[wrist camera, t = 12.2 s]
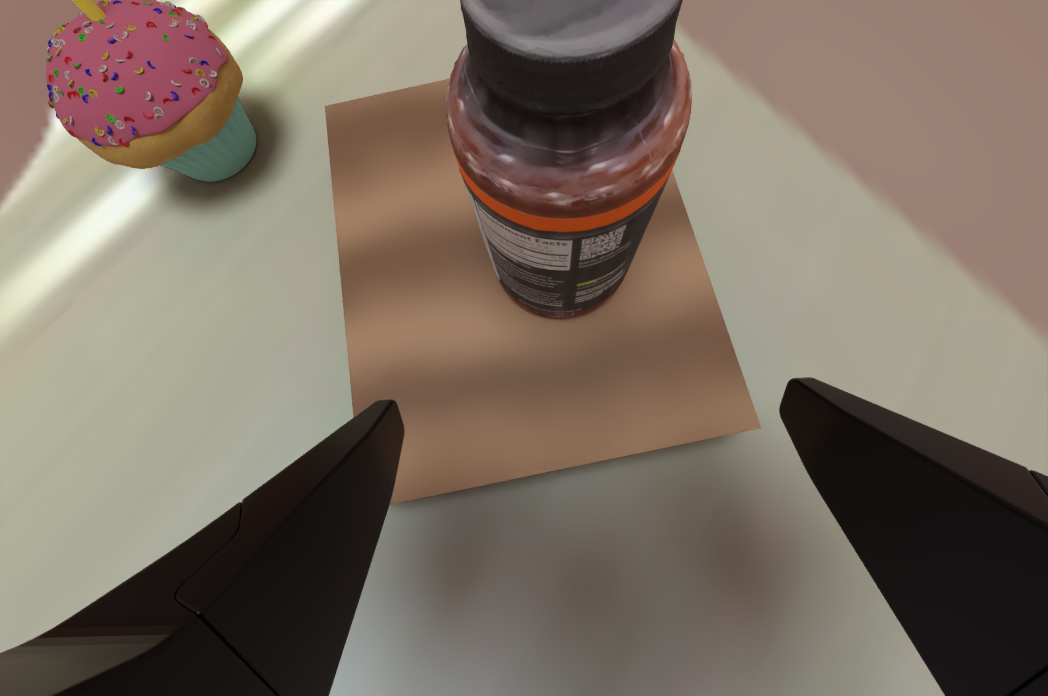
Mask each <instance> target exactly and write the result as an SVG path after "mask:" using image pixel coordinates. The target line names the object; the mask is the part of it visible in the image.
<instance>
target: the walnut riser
mask: <svg viewBox="0 0 1048 696" xmlns="http://www.w3.org/2000/svg"><path fill="white" fill-rule="evenodd" d="M449 80H450V79H447V80H442V81H437V82H433V83H428V84H424V85H419V86H415V87H410V88H405V89H401V90H396V91H392V92H387V93H383V94H378V95H374V96H369V97H364V98H360V99H355V100H351V101H346V102H342V103H337V104H332V105H328V106H325V113H326V123H327V134H328V145H329V156H330V167H331V178H332V188H333V199H334V210H335V221H336V232H337V242H338V253H339V264H340V275H341V286H342V296H343V307H344V318H345V329H346V340H347V351H348V361H349V372H350V383H351V394H352V405H353V415H354V417H355V416H356V415H358V414H359V413H361V412H362V411H363V410H365V409H366V408H367V407H369V406H370V405H371V404H373V403H374V402H376V401H377V400H389V399H393V400H395V401H396V402H397V404H398V407H399V411H400V414H401V417H402V421H403V424H404V429H405V433H404V440H403V445H402V450H401V455H400V460H399V465H398V470H397V476H396V481H395V486H394V490H393V494H392V498H391V501H390V505H391V504H396V503H401V502H406V501H411V500H415V499H420V498H425V497H430V496H435V495H440V494H444V493H449V492H454V491H459V490H464V489H468V488H473V487H478V486H483V485H488V484H493V483H497V482H502V481H507V480H512V479H517V478H522V477H526V476H531V475H536V474H541V473H546V472H551V471H555V470H560V469H565V468H570V467H575V466H580V465H584V464H589V463H594V462H599V461H604V460H608V459H613V458H618V457H623V456H628V455H633V454H637V453H642V452H647V451H652V450H657V449H662V448H666V447H671V446H676V445H681V444H686V443H691V442H695V441H700V440H705V439H710V438H715V437H720V436H724V435H729V434H734V433H739V432H744V431H749V430H753V429H758V428H761V427H760V424H759V421H758V418H757V415H756V412H755V409H754V406H753V404H752V401H751V398H750V395H749V392H748V389H747V386H746V383H745V380H744V377H743V375H742V372H741V369H740V366H739V363H738V360H737V357H736V354H735V351H734V348H733V346H732V343H731V340H730V337H729V334H728V331H727V328H726V325H725V322H724V319H723V317H722V314H721V311H720V308H719V305H718V302H717V299H716V296H715V293H714V290H713V288H712V285H711V282H710V279H709V276H708V273H707V270H706V267H705V264H704V261H703V258H702V256H701V253H700V250H699V247H698V244H697V241H696V238H695V235H694V232H693V229H692V227H691V224H690V221H689V218H688V215H687V212H686V209H685V206H684V203H683V200H682V198H681V195H680V192H679V189H678V186H677V183H676V180H675V177H674V174H673V171H671V173H670V176H669V178H668V181H667V183H666V186H665V187H664V190H663V192H662V194H661V197H660V199H659V201H658V203H657V206H656V208H655V210H654V213H653V215H652V217H651V219H650V222H649V224H648V226H647V228H646V231H645V233H644V235H643V237H642V240H641V242H640V244H639V247H638V249H637V251H636V254H635V256H634V258H633V260H632V263H631V265H630V267H629V270H628V272H627V274H626V276H625V278H624V279H623V281H622V283H621V284H620V286H619V287H618V289H617V290H616V292H615V293H614V294H613V295H612V296H611V297H610V298H609V299H608V300H607V301H606V302H605V303H603V304H602V305H600V306H598V307H597V308H595V309H594V310H592V311H590V312H587V313H584V314H582V315H577V316H573V317H565V318H552V317H546V316H542V315H539V314H536V313H533V312H531V311H529V310H527V309H525V308H523V307H522V306H520V305H519V304H517V303H516V302H515V301H514V300H513V299H511V298H510V297H509V295H508V294H507V293H506V292H505V290H504V289H503V287H502V285H501V283H500V282H499V280H498V277H497V275H496V273H495V271H494V268H493V266H492V263H491V260H490V257H489V254H488V251H487V249H486V245H485V242H484V240H483V237H482V233H481V231H480V228H479V225H478V222H477V219H476V216H475V213H474V211H473V208H472V205H471V202H470V199H469V196H468V193H467V190H466V187H465V185H464V182H463V179H462V176H461V173H460V170H459V166H458V163H457V160H456V157H455V154H454V151H453V148H452V144H451V140H450V136H449V132H448V128H447V118H446V95H447V88H448V85H449Z"/></svg>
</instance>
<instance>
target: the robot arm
mask: <svg viewBox="0 0 1048 696" xmlns="http://www.w3.org/2000/svg"><path fill="white" fill-rule="evenodd" d="M779 411H780V416H781V419H782V421H783V423H784V425H785V427H786V429H787V431H788V434H789V436H790V438H791V440H792V442H793V444H794V446H795V448H796V450H797V452H798V454H799V456H800V458H801V461H802V463H803V465H804V467H805V469H806V471H807V473H808V474H809V476H810V478H811V480H812V482H813V483H814V485H815V487H816V488H817V490H818V492H819V493H820V495H821V496H822V498H823V500H824V501H825V503H826V504H827V506H828V508H829V509H830V511H831V512H832V514H833V516H834V517H835V519H836V521H837V522H838V524H839V525H840V527H841V529H842V530H843V532H844V533H845V535H846V537H847V538H848V540H849V542H850V543H851V545H852V546H853V548H854V550H855V551H856V553H857V554H858V556H859V558H860V559H861V561H862V562H863V564H864V566H865V567H866V569H867V571H868V572H869V574H870V575H871V577H872V579H873V580H874V582H875V583H876V585H877V587H878V588H879V590H880V592H881V593H882V595H883V596H884V598H885V600H886V601H887V603H888V604H889V606H890V608H891V609H892V611H893V612H894V614H895V616H896V617H897V619H898V621H899V622H900V624H901V625H902V627H903V629H904V630H905V632H906V633H907V635H908V637H909V638H910V640H911V642H912V643H913V645H914V646H915V648H916V650H917V651H918V653H919V654H920V656H921V658H922V659H923V661H924V662H925V664H926V666H927V667H928V669H929V671H930V672H931V674H932V675H933V677H934V679H935V680H936V682H937V683H938V685H939V687H940V688H941V690H942V692H943V693H944V695H945V696H1048V476H1045V475H1043V474H1041V473H1038V472H1036V471H1033V470H1030V471H1029V470H1028V469H1027V468H1026V467H1024V466H1021V465H1019V464H1017V463H1014V462H1012V461H1009V460H1007V459H1005V458H1002V457H1000V456H998V455H995V454H993V453H990V452H988V451H986V450H983V449H981V448H979V447H976V446H974V445H971V444H969V443H967V442H964V441H962V440H959V439H957V438H955V437H952V436H950V435H948V434H945V433H943V432H940V431H938V430H936V429H933V428H931V427H929V426H926V425H924V424H921V423H919V422H917V421H914V420H912V419H909V418H907V417H905V416H902V415H900V414H898V413H895V412H893V411H890V410H888V409H886V408H883V407H881V406H879V405H876V404H874V403H871V402H869V401H867V400H864V399H862V398H859V397H857V396H855V395H852V394H850V393H848V392H845V391H843V390H840V389H838V388H836V387H833V386H831V385H829V384H826V383H824V382H821V381H819V380H817V379H814V378H810V377H806V378H793V379H791V380H790V381H789V382H788V383H787V386H786V389H785V392H784V395H783V398H782V401H781V404H780V410H779ZM404 433H405V429H404V424H403V421H402V417H401V414H400V411H399V407H398V404H397V402H396V401H395V400H393V399H389V400H377V401H376V402H374V403H373V404H371V405H370V406H369V407H367V408H366V409H365V410H363V411H362V412H361V413H359V414H358V415H356V416H355V417H354V418H352V419H351V420H350V421H348V422H347V423H346V424H344V425H343V426H342V427H340V428H339V429H338V430H336V431H335V432H334V433H332V434H331V435H329V436H328V437H327V438H325V439H324V440H323V441H321V442H320V443H319V444H317V445H316V446H315V447H313V448H312V449H311V450H309V451H308V452H306V453H305V454H304V455H302V456H301V457H300V458H298V459H297V460H296V461H294V462H293V463H292V464H290V465H289V466H288V467H286V468H285V469H283V470H282V471H281V472H279V473H278V474H277V475H275V476H274V477H273V478H271V479H270V480H269V481H267V482H266V483H265V484H263V485H262V486H260V487H259V488H258V489H256V490H255V491H254V492H252V493H251V494H250V495H248V496H247V497H246V498H244V499H243V501H242V503H241V502H239V503H237V504H236V505H235V506H233V507H232V508H231V509H229V510H228V511H227V512H225V513H224V514H223V515H221V516H220V517H218V518H217V519H216V520H214V521H213V522H211V523H210V524H209V525H207V526H206V527H204V528H203V529H202V530H200V531H199V532H198V533H196V534H195V535H193V536H192V537H191V538H189V539H188V540H186V541H185V542H183V543H182V544H180V545H179V546H177V547H176V548H174V549H173V550H171V551H170V552H168V553H167V554H165V555H164V556H162V557H161V558H159V559H158V560H156V561H155V562H153V563H152V564H150V565H149V566H147V567H146V568H144V569H143V570H141V571H140V572H138V573H137V574H135V575H134V576H132V577H131V578H129V579H128V580H126V581H125V582H123V583H122V584H120V585H119V586H117V587H116V588H114V589H112V590H111V591H109V592H108V593H106V594H105V595H103V596H102V597H100V598H99V599H97V600H96V601H94V602H93V603H91V604H90V605H88V606H87V607H85V608H84V609H82V610H81V611H79V612H78V613H76V614H75V615H73V616H72V617H70V618H68V619H67V620H65V621H64V622H62V623H60V624H59V625H57V626H56V627H54V628H52V629H50V630H49V631H47V632H45V633H43V634H41V635H39V636H38V637H36V638H34V639H32V640H29V641H27V642H25V643H23V644H21V645H19V646H17V647H14V648H12V649H9V650H7V651H4V652H2V653H0V696H329V693H330V690H331V687H332V684H333V681H334V678H335V674H336V671H337V668H338V665H339V662H340V659H341V656H342V652H343V649H344V646H345V643H346V640H347V637H348V634H349V630H350V627H351V624H352V621H353V618H354V615H355V612H356V608H357V605H358V602H359V599H360V596H361V593H362V590H363V586H364V583H365V580H366V577H367V574H368V571H369V568H370V564H371V561H372V558H373V555H374V552H375V549H376V545H377V542H378V539H379V536H380V533H381V530H382V527H383V523H384V520H385V517H386V514H387V511H388V508H389V505H390V501H391V498H392V494H393V490H394V486H395V481H396V476H397V470H398V465H399V460H400V455H401V450H402V445H403V440H404Z"/></svg>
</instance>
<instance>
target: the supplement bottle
mask: <svg viewBox="0 0 1048 696" xmlns="http://www.w3.org/2000/svg"><path fill="white" fill-rule="evenodd" d="M460 2H461V9H462V13H463V18H464V23H465V27H466V38H467V45H466V46H465V47H464V48H463V49H462V51H461V53H460V55H459V57H458V59H457V61H456V62H455V66H454V69H453V71H452V73H451V77H450V80H449V85H448V88H447V95H446V118H447V128H448V132H449V136H450V140H451V144H452V148H453V151H454V154H455V157H456V160H457V163H458V166H459V170H460V173H461V176H462V179H463V182H464V185H465V187H466V190H467V193H468V196H469V199H470V202H471V205H472V208H473V211H474V213H475V216H476V219H477V222H478V225H479V228H480V231H481V233H482V237H483V240H484V242H485V245H486V249H487V251H488V254H489V257H490V260H491V263H492V266H493V268H494V271H495V273H496V275H497V277H498V280H499V282H500V283H501V285H502V287H503V289H504V290H505V292H506V293H507V294H508V295H509V297H510V298H511V299H513V300H514V301H515V302H516V303H517V304H519V305H520V306H522V307H523V308H525V309H527V310H529V311H531V312H533V313H536V314H539V315H542V316H546V317H552V318H565V317H573V316H577V315H582V314H584V313H587V312H590V311H592V310H594V309H595V308H597V307H598V306H600V305H602V304H603V303H605V302H606V301H607V300H608V299H609V298H610V297H611V296H612V295H613V294H614V293H615V292H616V290H617V289H618V287H619V286H620V284H621V283H622V281H623V279H624V278H625V276H626V274H627V272H628V270H629V267H630V265H631V263H632V260H633V258H634V256H635V254H636V251H637V249H638V247H639V244H640V242H641V240H642V237H643V235H644V233H645V231H646V228H647V226H648V224H649V222H650V219H651V217H652V215H653V213H654V210H655V208H656V206H657V203H658V201H659V199H660V197H661V194H662V192H663V190H664V187H665V186H666V183H667V181H668V178H669V176H670V173H671V171H672V169H673V166H674V164H675V162H676V159H677V157H678V155H679V152H680V149H681V145H682V143H683V140H684V138H685V134H686V131H687V128H688V125H689V119H690V114H691V104H692V90H691V80H690V75H689V72H688V69H687V65H686V62H685V59H684V54H683V53H682V52H681V51H680V49H679V47H678V45H677V43H676V42H675V40H674V34H675V26H676V21H677V18H678V14H679V11H680V7H681V4H682V0H460Z"/></svg>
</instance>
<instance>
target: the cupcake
mask: <svg viewBox="0 0 1048 696" xmlns="http://www.w3.org/2000/svg"><path fill="white" fill-rule="evenodd" d="M72 1H73V2H74V3H75V4H76V5H77V6H78V7H79V8H80V10H81V12H80V15H79V16H78V17H76V18H75V19H74V20H73V21H71V22H70V23H67V25H64V24H61V25H59V27H57V30H56V31H57V32H55V33H54V35H53V36H52V39H51V40H49V42H48V44H49V47H48V48H47V52H48V53H49V56H48V57H47V59H46V60H47V65H46V79H47V87H48V90H49V98H50V100H49V102H48V103H49V106H50V107H51V108H54V109H55V111H56V116H57V118H58V119H60V121H61V123H62V125H63V126H64V128H65V129H66V130H67V131H68V132H69V133H70V134H71V135H72V136H73V137H76V138H77V139H78V140H79V141H81V142H82V143H83V144H84V145H85V146H87V147H88V148H89V149H91V150H92V151H93V152H94V153H96V154H97V155H99V156H100V157H101V158H103V159H105V160H106V161H108V162H111V163H113V164H119V165H124V166H128V167H132V168H138V169H146V168H152V167H156V166H159V165H161V166H164V167H167V168H170V169H172V170H175V171H177V172H180V173H182V174H185V175H187V176H189V177H192V178H194V179H197V180H200V181H206V182H214V181H220V180H223V179H226V178H229V177H231V176H233V175H235V174H236V173H238V172H239V171H240V170H242V169H243V168H244V167H245V166H246V165H247V163H248V162H249V161H250V159H251V158H252V156H253V154H254V151H255V148H256V134H255V131H254V128H253V126H252V124H251V123H250V121H249V119H248V117H247V115H246V113H245V111H244V109H243V107H242V105H241V102H240V100H239V97H238V93H239V91H240V88H241V85H242V82H243V76H242V72H241V70H240V68H239V66H238V65H237V63H236V61H235V60H234V58H233V56H232V55H231V53H230V51H229V50H228V49H227V47H226V46H225V45H224V44H223V43H222V41H221V40H220V39H219V38H218V37H217V36H216V35H215V34H214V33H213V32H212V31H210V30H209V29H208V25H207V23H206V22H205V20H204V19H203V18H202V17H201V16H200V15H194V14H192V13H190V12H187V11H186V10H185V9H184V8H181V7H176V6H175V5H173V4H172V3H171V2H168V1H166V2H165V3H162V2H157V1H156V0H107V1H106V0H102V1H101V2H99V3H98V4H96V3H95V2H94V1H93V0H72ZM201 18H202V19H201ZM62 26H63V27H62ZM61 28H62V29H61ZM59 30H60V31H59ZM49 50H50V51H49Z"/></svg>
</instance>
